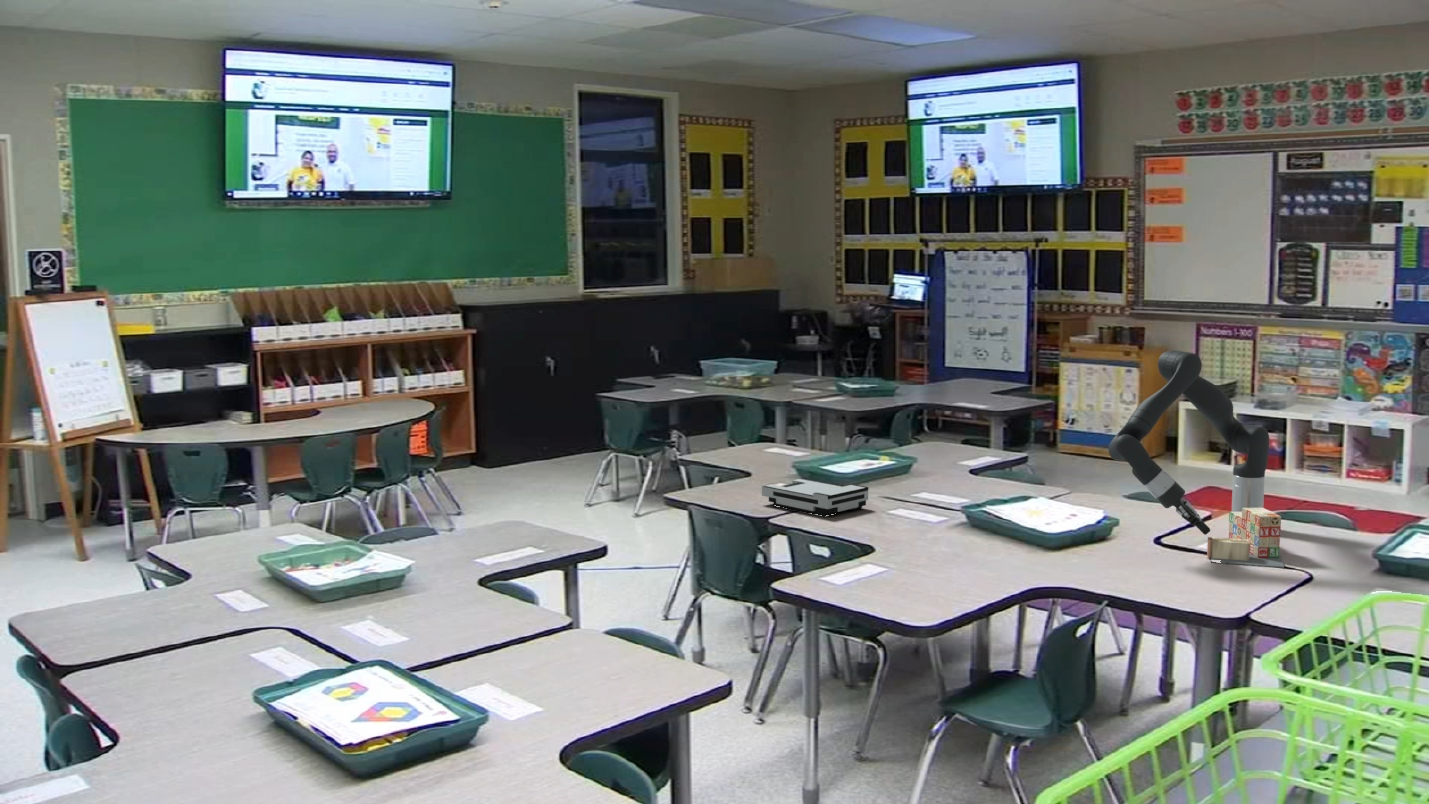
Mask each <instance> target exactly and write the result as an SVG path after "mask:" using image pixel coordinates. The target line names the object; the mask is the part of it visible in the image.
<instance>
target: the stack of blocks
mask: <svg viewBox="0 0 1429 804" xmlns="http://www.w3.org/2000/svg"><path fill="white" fill-rule="evenodd" d="M1228 522H1229V523H1228V524H1229V525H1228V532H1229V533H1228V538H1231V539H1247V540H1249V542H1250V552H1249V553H1251V554H1253V555H1255V556H1256V557H1279V555H1280V542H1281V541H1280V540H1281V529H1282V527H1281V525H1282V516H1281V515H1279V514H1277V513H1276V512H1275V511H1274V512H1273V511H1271V510H1269V509H1266V508H1265V507H1263V508H1242V512H1232V511H1229V514H1228Z"/></svg>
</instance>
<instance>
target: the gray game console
mask: <svg viewBox="0 0 1429 804" xmlns="http://www.w3.org/2000/svg"><path fill="white" fill-rule="evenodd" d="M761 496H763V497H767V498H768V502H770V503H773V506H774V505H776V506H780V507H784V508H787V509H786V510H788V509H791V510H790V511H792V510H796V511H795V512H797V511H801V512H800V513H802V512H806V513H812V514H818V515H822V516H826V515H831V514H835V513H838V512H844V511H847V510H854V511H857V509H858V510H862V509H863V507H864V506H867V501H868V500H869V487H868V486H864V485H859V484H854V483H853V484H849V485H842V484H835V483H829V482H824V481H818V480H815V479H814V480H813V479H807V478H804V477H803V478H798V479H792V482H791V483H788V484H783V485H779V484H778V485H776V484H767V485H763V486H761ZM861 508H862V509H861ZM806 513H805V514H806Z"/></svg>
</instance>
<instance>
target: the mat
mask: <svg viewBox="0 0 1429 804" xmlns="http://www.w3.org/2000/svg"><path fill="white" fill-rule="evenodd" d="M1211 560H1221V561H1220V562H1221V563H1229V564H1228V565H1234V564H1247V565H1246V566H1248V565H1257V566H1256V567H1262V566H1265V567H1264V568H1266V567H1267V568H1277V569H1278V568H1279V569H1284V568H1285V566H1284V565H1285V564H1284V562H1283V559H1282V557H1281V554H1279V557H1256V556H1255V555H1253V554H1251V553H1250V552H1249V561H1246V560H1231V559H1217V558H1211V559H1210V563H1211V562H1212V561H1211Z"/></svg>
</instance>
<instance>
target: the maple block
mask: <svg viewBox="0 0 1429 804" xmlns="http://www.w3.org/2000/svg"><path fill="white" fill-rule="evenodd" d="M1206 553H1207V554H1206V555H1207V559H1210V558H1217V559H1231V560H1246V561H1249V553H1250V542H1249V540H1247V539H1231V538H1229V537H1228V538H1227V537H1213V536H1207V550H1206Z"/></svg>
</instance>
